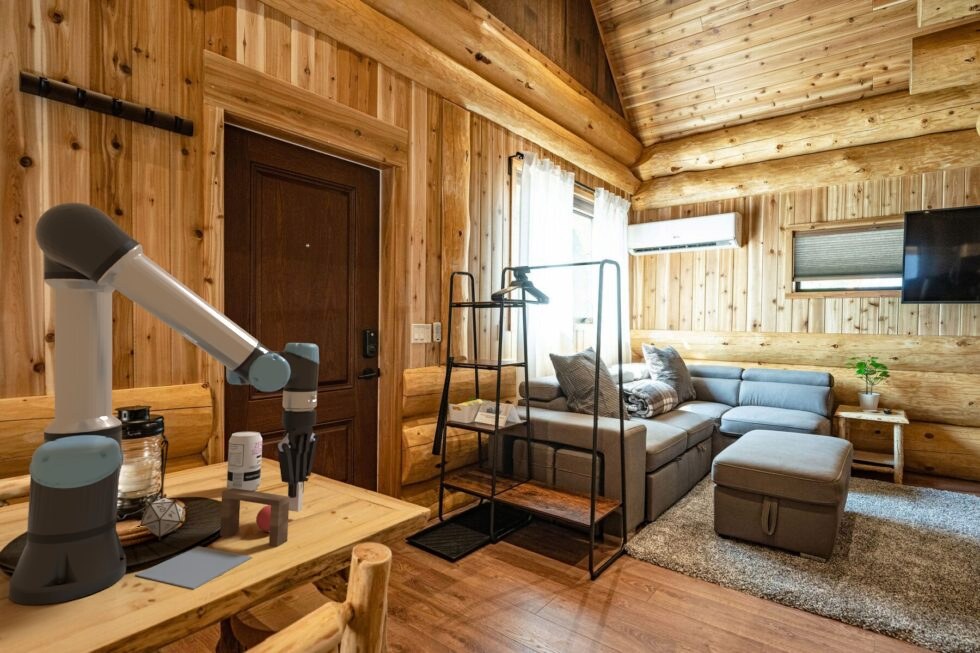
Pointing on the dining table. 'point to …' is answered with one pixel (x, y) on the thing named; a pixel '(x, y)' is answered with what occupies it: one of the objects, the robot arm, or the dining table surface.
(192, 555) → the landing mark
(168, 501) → the game die
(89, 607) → the dining table surface
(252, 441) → the supplement can
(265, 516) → the ball
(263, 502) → the bridge
